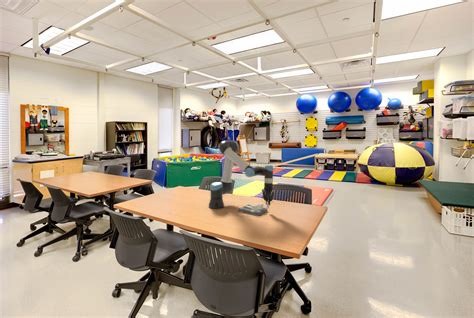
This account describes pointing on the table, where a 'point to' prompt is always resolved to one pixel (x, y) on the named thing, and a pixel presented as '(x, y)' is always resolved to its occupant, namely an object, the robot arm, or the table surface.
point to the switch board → (248, 210)
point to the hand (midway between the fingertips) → (267, 208)
